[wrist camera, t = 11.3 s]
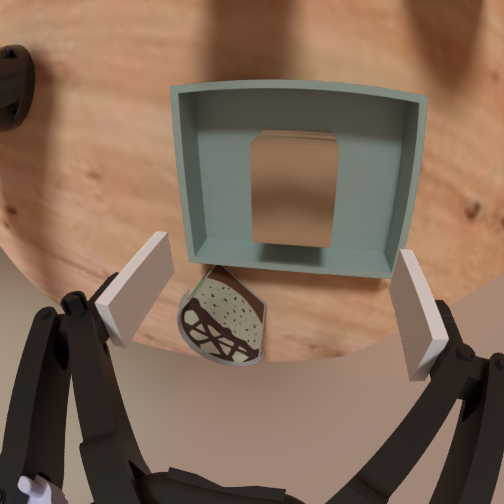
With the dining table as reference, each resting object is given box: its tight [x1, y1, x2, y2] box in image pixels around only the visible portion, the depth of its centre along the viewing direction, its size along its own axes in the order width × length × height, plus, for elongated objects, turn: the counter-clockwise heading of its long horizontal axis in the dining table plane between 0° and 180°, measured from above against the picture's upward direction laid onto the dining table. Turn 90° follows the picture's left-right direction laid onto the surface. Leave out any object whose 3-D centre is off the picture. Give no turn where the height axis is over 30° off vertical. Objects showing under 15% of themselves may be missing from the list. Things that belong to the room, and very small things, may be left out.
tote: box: [170, 80, 428, 279], centre depth 30 cm, size 24×20×5 cm
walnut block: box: [250, 129, 339, 248], centre depth 28 cm, size 9×7×8 cm
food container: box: [177, 265, 266, 366], centre depth 39 cm, size 12×6×10 cm, turn 45°
